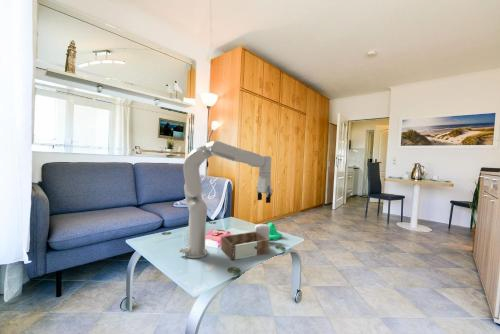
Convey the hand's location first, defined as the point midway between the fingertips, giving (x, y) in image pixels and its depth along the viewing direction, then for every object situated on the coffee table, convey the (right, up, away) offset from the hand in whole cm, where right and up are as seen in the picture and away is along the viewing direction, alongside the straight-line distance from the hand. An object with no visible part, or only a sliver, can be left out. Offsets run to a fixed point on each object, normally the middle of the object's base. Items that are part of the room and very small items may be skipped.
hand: (263, 201), depth 140 cm
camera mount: (+7, -29, +15) cm, 33 cm away
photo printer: (-1, -29, +5) cm, 29 cm away
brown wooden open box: (-12, -29, -10) cm, 33 cm away
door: (-11, -28, -19) cm, 36 cm away
